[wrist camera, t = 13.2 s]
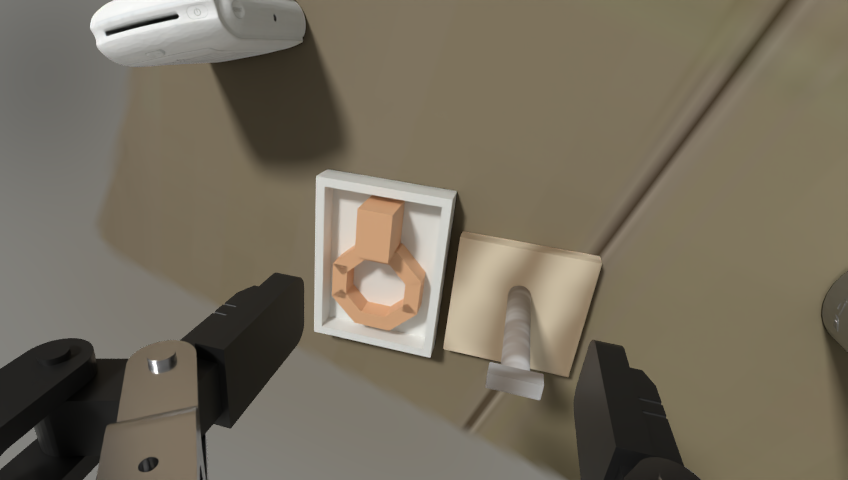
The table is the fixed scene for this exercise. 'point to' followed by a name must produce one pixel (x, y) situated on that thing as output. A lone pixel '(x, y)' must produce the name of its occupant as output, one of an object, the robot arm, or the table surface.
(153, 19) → the photo printer
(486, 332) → the stake board
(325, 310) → the white tray
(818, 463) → the table surface
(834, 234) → the table surface
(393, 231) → the terracotta ring
